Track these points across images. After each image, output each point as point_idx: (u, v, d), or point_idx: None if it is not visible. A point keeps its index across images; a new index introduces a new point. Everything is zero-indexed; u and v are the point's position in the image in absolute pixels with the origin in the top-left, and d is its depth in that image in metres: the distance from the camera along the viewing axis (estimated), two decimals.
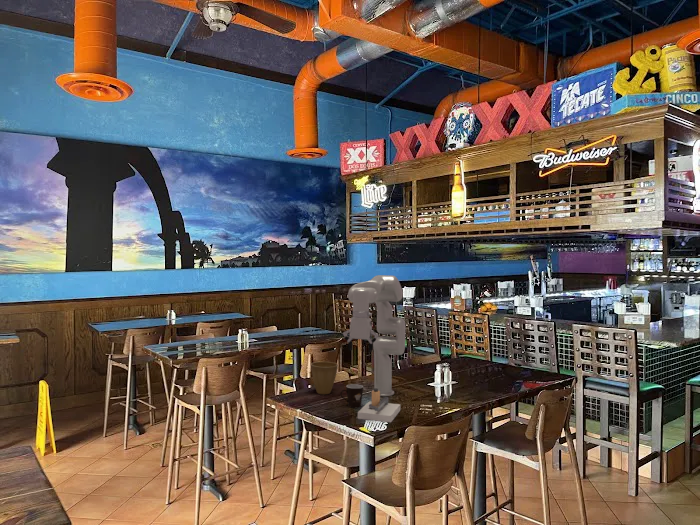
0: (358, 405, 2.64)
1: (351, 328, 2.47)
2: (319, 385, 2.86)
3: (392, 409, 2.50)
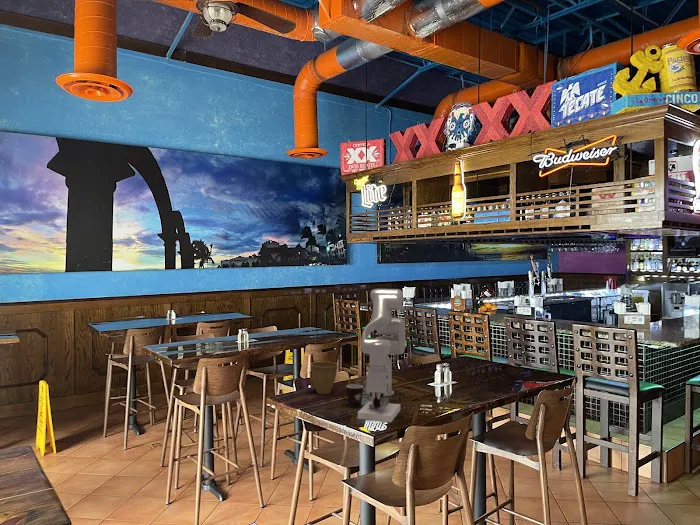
0: (358, 405, 2.64)
1: (367, 381, 2.47)
2: (319, 385, 2.86)
3: (392, 409, 2.50)
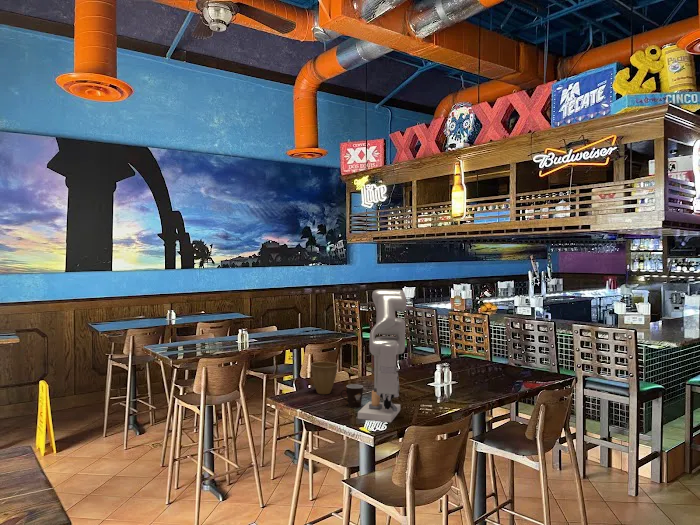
0: (358, 405, 2.64)
1: (378, 383, 2.46)
2: (319, 385, 2.86)
3: None
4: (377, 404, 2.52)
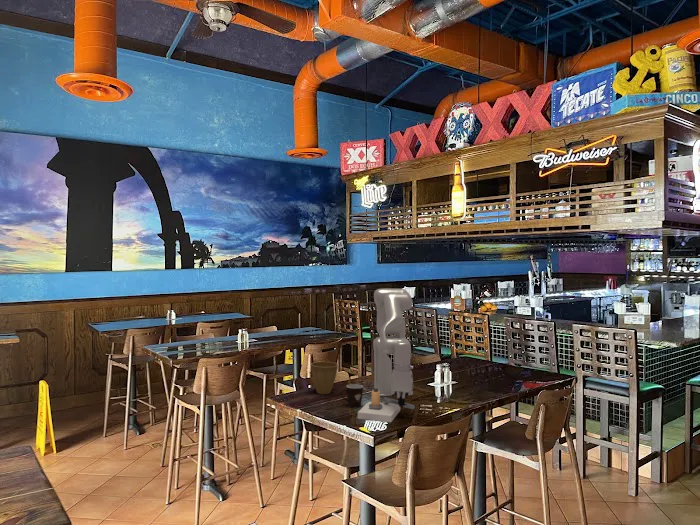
0: (358, 405, 2.64)
1: (392, 381, 2.48)
2: (319, 385, 2.86)
3: (392, 409, 2.50)
4: (377, 404, 2.52)
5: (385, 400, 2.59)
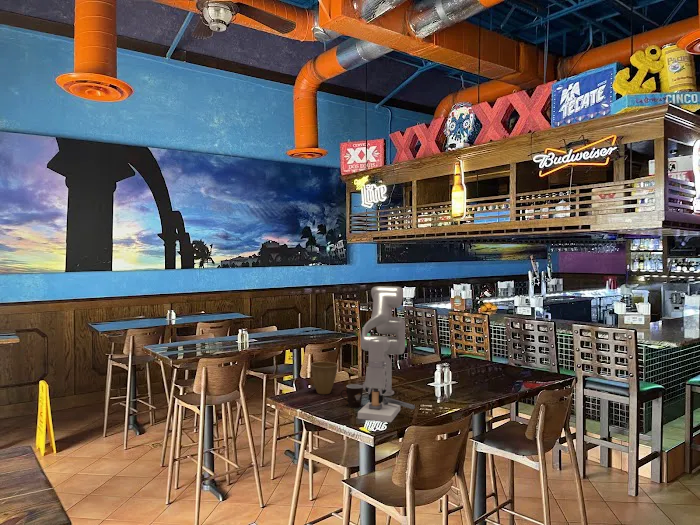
0: (358, 405, 2.64)
1: (367, 377, 2.52)
2: (319, 385, 2.86)
3: (392, 409, 2.50)
4: (377, 404, 2.52)
5: (385, 400, 2.59)
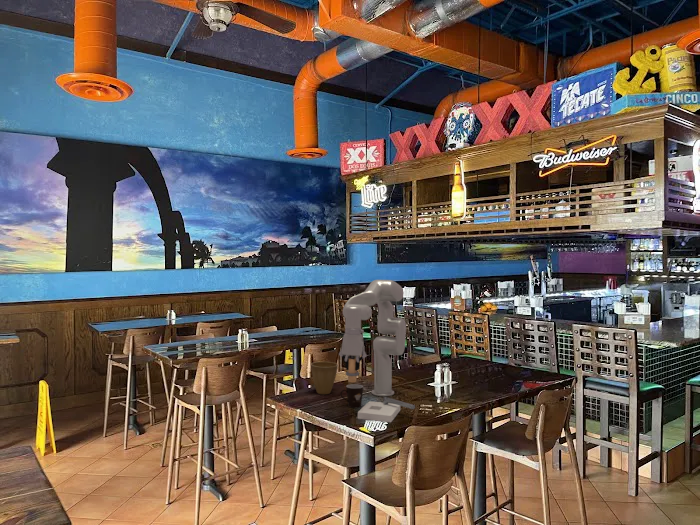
0: (358, 405, 2.64)
1: (343, 345, 2.52)
2: (319, 385, 2.86)
3: (392, 409, 2.50)
4: (354, 371, 2.51)
5: (385, 400, 2.59)
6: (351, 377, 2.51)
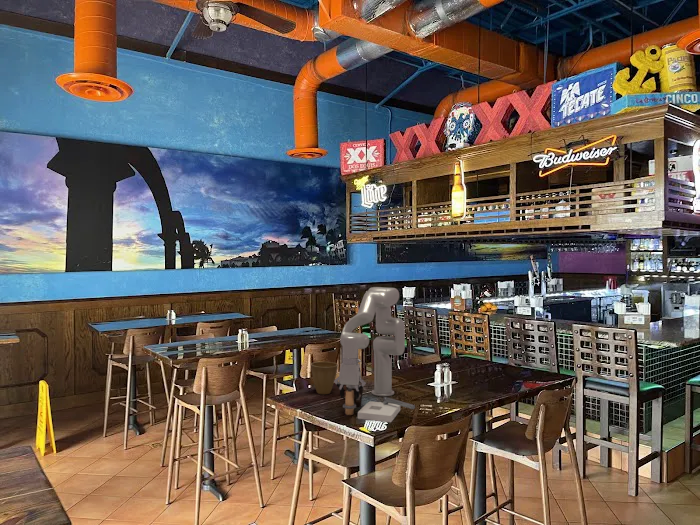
0: (358, 405, 2.64)
1: (340, 374, 2.52)
2: (319, 385, 2.86)
3: (392, 409, 2.50)
4: (351, 404, 2.52)
5: (385, 400, 2.59)
6: (348, 410, 2.51)
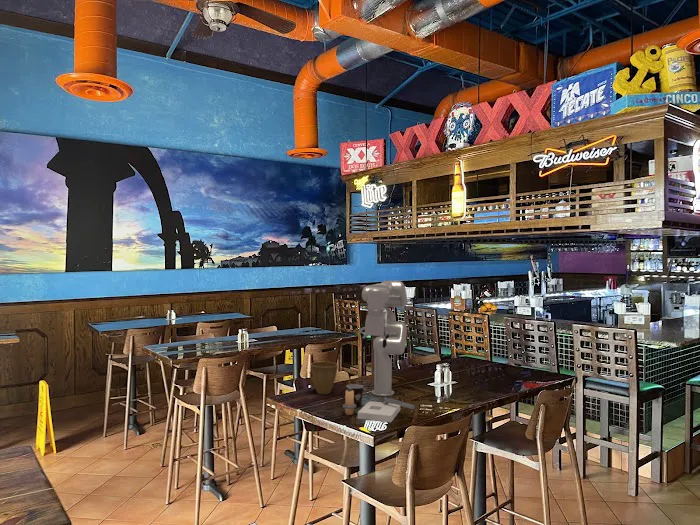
0: (358, 405, 2.64)
1: (366, 325, 2.65)
2: (319, 385, 2.86)
3: (392, 409, 2.50)
4: (351, 404, 2.52)
5: (385, 400, 2.59)
6: (348, 410, 2.51)
